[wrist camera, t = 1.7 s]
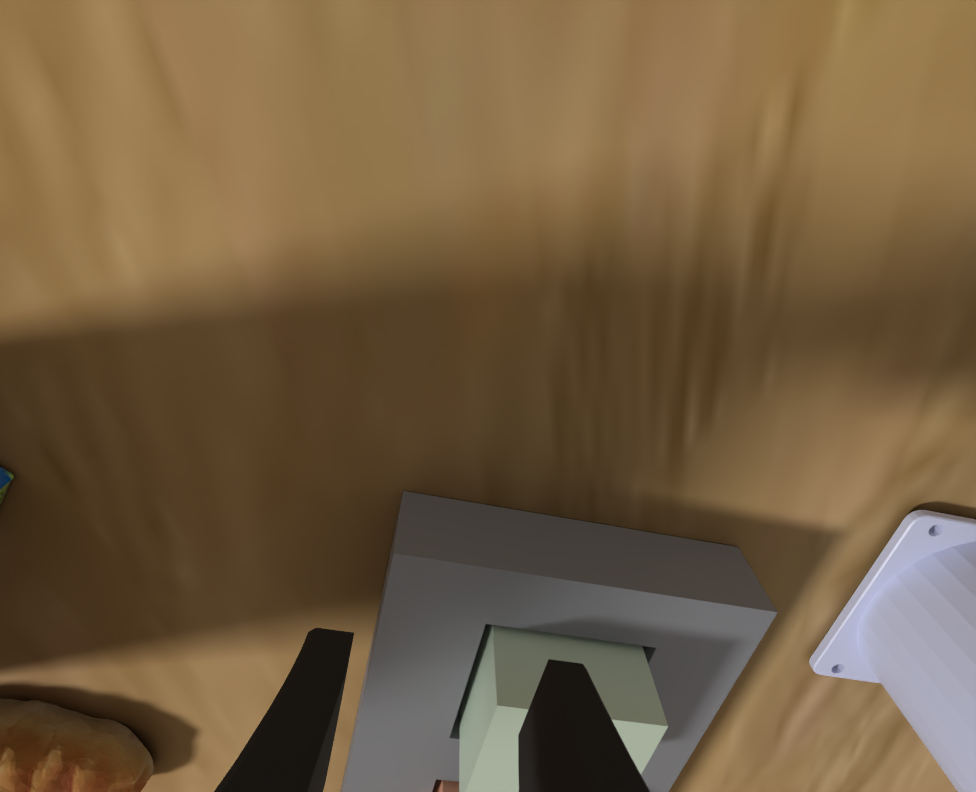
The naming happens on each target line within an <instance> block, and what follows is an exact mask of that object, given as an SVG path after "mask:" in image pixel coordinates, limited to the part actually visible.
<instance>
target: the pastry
mask: <svg viewBox="0 0 976 792" xmlns="http://www.w3.org/2000/svg"><path fill="white" fill-rule="evenodd" d="M153 771H154V767H153V761H152V757H151V755H150V753H149V752H148V750H147V749H146V748H145V746H144V745H143V744H142V743H141V742H140V740H139V739H138V738H137V737H136V736H135V735H134V734H133V732H132V731H131V730H130V729H129V728H127V727H126V726H124V725H122V724H120V723H118V722H117V721H114V720H109V719H98V718H93V717H90V716H87V715H84V714H81V713H79V712H76V711H72V710H68V709H64V708H61V707H59V706H57V705H54V704H52V703H49V702H45V701H42V700H30V701H20V700H15V699H0V792H141V790H142V789H143V787H144V786H145V785H146V782H147V781H148V780H149V779H150V777H151V775H152V773H153Z"/></svg>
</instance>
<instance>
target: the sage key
mask: <svg viewBox="0 0 976 792" xmlns="http://www.w3.org/2000/svg"><path fill="white" fill-rule="evenodd" d="M548 659H551V660H559V661H566V662H574V663H581V664H583V665H584V666H585V668H586V669H587V671H588V673H589V675H590V677H591V679H592V681H593V683H594V685H595V687H596V689H597V691H598V693H599V695H600V697H601V699H602V701H603V703H604V705H605V707H606V709H607V711H608V713H609V715H610V717H611V719H612V721H613V723H614V725H615V727H616V729H617V731H618V733H619V735H620V737H621V739H622V741H623V743H624V744H625V746H626V748H627V750H628V752H629V754H630V756H631V758H632V760H633V761H634V763H635V765H636V767H637V769H638V771H639V772H640V774H642V772H643V770H644V769H645V767H646V765H647V763H648V762H649V760H650V758H651V756H652V754H653V753H654V751H655V749H656V747H657V746H658V744H659V742H660V740H661V738H662V737H663V735H664V733H665V731H666V730H667V728H668V724H667V721H666V718H665V715H664V712H663V708H662V705H661V702H660V699H659V696H658V693H657V690H656V687H655V684H654V681H653V677H652V674H651V671H650V668H649V665H648V662H647V659H646V656H645V653H644V650H643V646H640V645H633V644H626V643H619V642H612V641H605V640H598V639H591V638H584V637H576V636H569V635H562V634H555V633H548V632H541V631H534V630H527V629H520V628H513V627H505V626H498V625H491V624H486V625H485V628H484V631H483V634H482V638H481V641H480V644H479V647H478V650H477V653H476V656H475V659H474V663H473V666H472V669H471V672H470V675H469V678H468V681H467V684H466V688H465V691H464V694H463V697H462V700H461V703H460V748H459V792H519V770H518V735H519V732H520V730H521V727H522V725H523V722H524V720H525V717H526V715H527V712H528V710H529V707H530V705H531V702H532V700H533V697H534V695H535V692H536V690H537V687H538V684H539V682H540V679H541V677H542V674H543V672H544V669H545V667H546V664H547V662H548Z"/></svg>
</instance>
